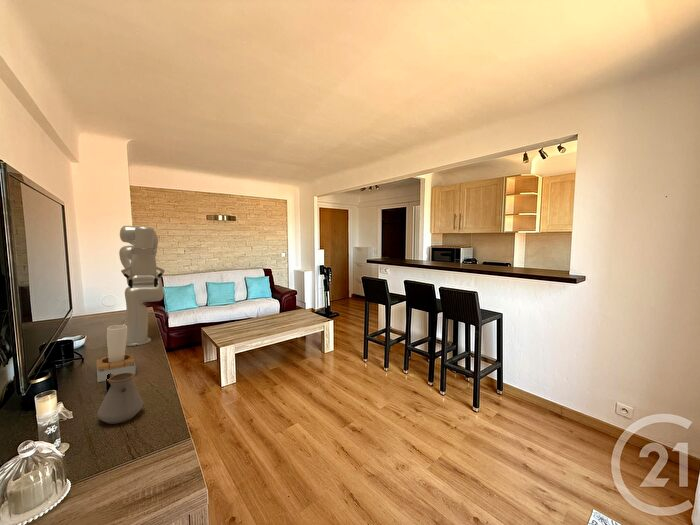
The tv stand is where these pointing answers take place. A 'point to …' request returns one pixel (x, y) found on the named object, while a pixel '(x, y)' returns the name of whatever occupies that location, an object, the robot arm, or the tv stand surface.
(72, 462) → the tv stand surface
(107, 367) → the octagon ring knob plate
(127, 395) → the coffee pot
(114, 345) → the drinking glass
